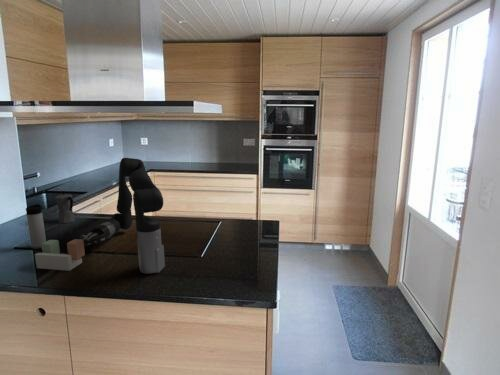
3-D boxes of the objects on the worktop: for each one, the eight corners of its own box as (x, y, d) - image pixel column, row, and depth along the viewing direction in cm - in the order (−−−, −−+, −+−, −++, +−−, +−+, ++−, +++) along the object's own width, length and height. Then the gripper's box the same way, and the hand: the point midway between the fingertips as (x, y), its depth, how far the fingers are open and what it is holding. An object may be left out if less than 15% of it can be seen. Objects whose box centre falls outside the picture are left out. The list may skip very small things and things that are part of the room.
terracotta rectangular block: (84, 254, 148) (83, 239, 146) (77, 259, 143) (75, 243, 142) (76, 254, 148) (74, 239, 147) (68, 258, 144) (66, 243, 142)
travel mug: (49, 243, 167) (44, 204, 162) (42, 248, 160) (36, 207, 156) (36, 243, 166) (30, 204, 162) (28, 249, 160) (22, 208, 156)
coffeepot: (53, 221, 202) (49, 191, 198) (69, 217, 209) (65, 188, 205) (66, 225, 193) (62, 194, 189) (82, 221, 201) (79, 191, 197)
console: (82, 262, 145) (80, 249, 144) (69, 270, 138) (67, 256, 136) (51, 260, 148) (49, 247, 147) (36, 268, 140) (34, 254, 139)
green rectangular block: (60, 255, 147) (58, 240, 146) (51, 260, 142) (49, 244, 141) (52, 254, 148) (50, 239, 146) (43, 259, 143) (41, 244, 142)
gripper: (90, 223, 164) (65, 236, 148) (115, 225, 162) (92, 237, 145) (91, 238, 166) (67, 252, 149) (116, 239, 164) (94, 254, 147)
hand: (79, 245), depth 147 cm, fingers closed
